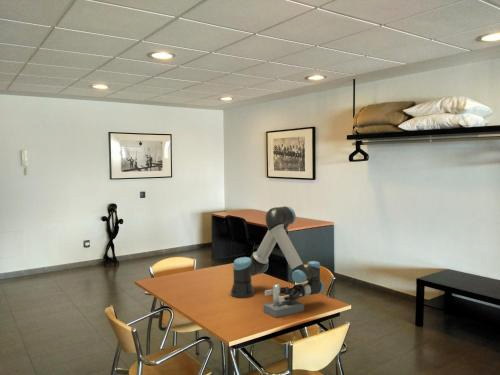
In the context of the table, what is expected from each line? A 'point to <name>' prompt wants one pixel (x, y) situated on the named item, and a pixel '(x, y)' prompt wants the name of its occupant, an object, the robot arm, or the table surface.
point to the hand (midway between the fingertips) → (271, 296)
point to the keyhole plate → (283, 308)
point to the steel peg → (276, 294)
